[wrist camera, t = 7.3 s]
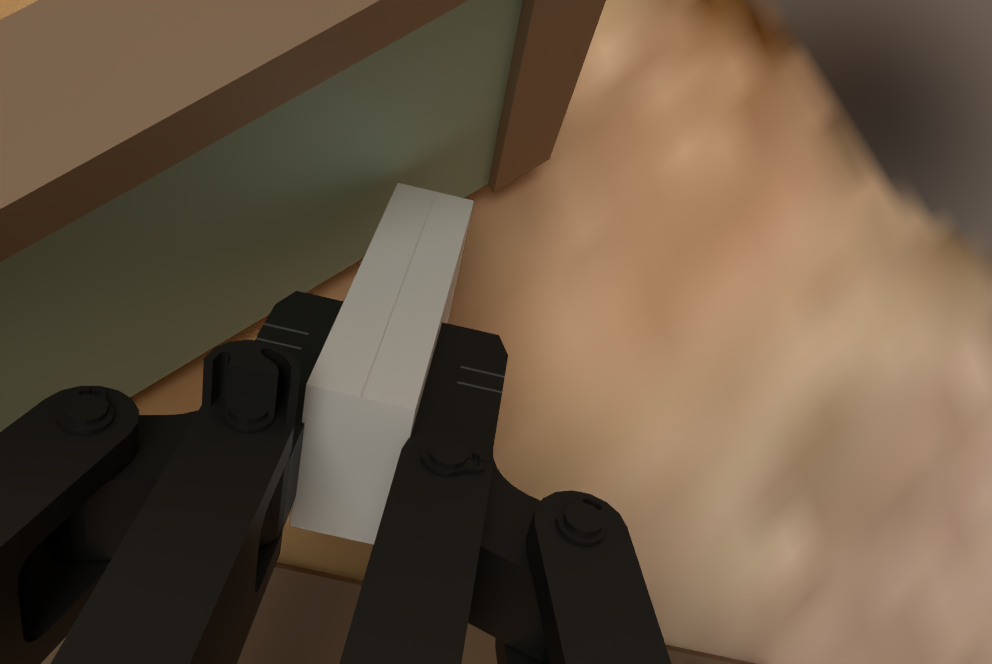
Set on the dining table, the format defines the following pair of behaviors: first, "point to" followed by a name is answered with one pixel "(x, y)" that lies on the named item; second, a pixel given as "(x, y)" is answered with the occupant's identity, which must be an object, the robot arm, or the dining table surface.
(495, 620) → the robot arm
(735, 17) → the dining table surface
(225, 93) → the gate
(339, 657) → the gate frame
